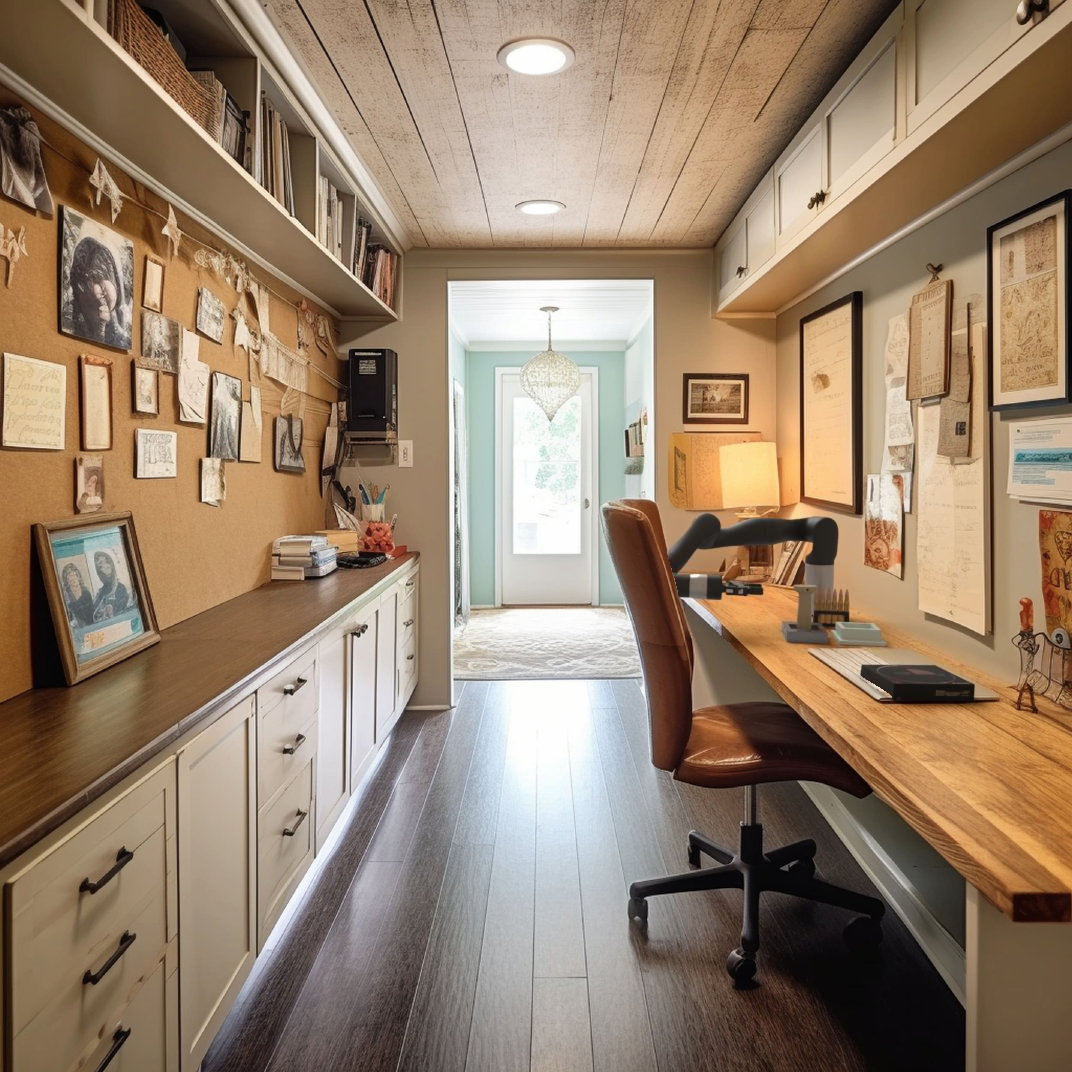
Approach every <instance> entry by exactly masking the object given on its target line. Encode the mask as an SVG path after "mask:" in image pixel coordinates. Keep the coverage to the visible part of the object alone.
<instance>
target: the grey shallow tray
mask: <svg viewBox="0 0 1072 1072" xmlns="http://www.w3.org/2000/svg"><path fill="white" fill-rule="evenodd" d="M830 634H831V636H832V637H833V638H834V639H835V640H836V642H837V643H838V645H843V646H864V647H865V646H866V647H867V646H869V647H883V648H885V647H886V648H887V642H886V641H885V640H883V638H882V629H881V628H880V627H878V625H876V624H875V623H874V622H853V621H852V622H850V621H849V622H836V625H835V629H830Z"/></svg>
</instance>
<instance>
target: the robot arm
mask: <svg viewBox="0 0 1072 1072" xmlns="http://www.w3.org/2000/svg"><path fill="white" fill-rule="evenodd" d="M839 533H840V532H839V525H838V523H837V522H836V520H834V519H833V518H831V517H829V516H819V515H818V516H815V515H814V516H808V517H801V518H794V519H793V518H792V519H787V518H779V517H752V518H748V519H745V520H742V521H740V522H737V523H735V524H733V525H731V526H727V527H723V528H722V523H721V521H720V519H719V518H718V517H717V516H716V515H714V514H713V513H709V512H703V513H700V514H698V515H696V516H695V518H693V521H692V522H691V524H690V526H689V527H688V529H687V530H686V531H685V532H684V533H683V535H682V536H681V537H680V538H679V540H677V541H676V543H674V544H673V546H671V547H670V548H669V549H668V550H667V551H666V552H667V555H668V558H669V562H670V566H671V568H672V573H673V575H674V578H675V582H676V586H677V590H678V596H679V597H678V598H686V599H695V600H706V601H708V600H710V601H721V600H722V598H723V593H725V596H736V597H737V596H738V597H748V596H763V595H764V587H763V585H762V584H761V583H753V582H752V583H751V582H748V581H742V580H741V581H740V580H726V581H725V582H723V575H722V574H713V573H711V574H710V573H693V574H691V573H690V574H689V573H688V574H687V573H679V572H680V571H682V569H683V568H684V567H685V566H686V565H687V564H688V562H689V561H690V559H691V558H692V557H693V556H694V553H695V552H696V551H697V550H714V549H721V548H728V547H744V546H772V545H777V544H781V543H786V542H792V541H793V542H804V543H805V542H806V543H811V544H812V547H811V550H810V552H809V553H808V554H806V555H805V559H804V563H805V564H804V585H815V586H817V589H818V593H819V610H820V598H821V591H822V589H824V592H825V610H826V600H827V592H828V589H830V592H831V610H832V600H833V592H834V589H835V588H834V585H835V584H834V583H835V582H834V581H835V560H836V558H837V554H838V548H839V546H838V545H839V537H840V536H839ZM814 597H815V592H813V593H812V594H811V613H812V615H813V609H814Z"/></svg>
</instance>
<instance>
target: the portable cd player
mask: <svg viewBox="0 0 1072 1072" xmlns="http://www.w3.org/2000/svg"><path fill="white" fill-rule="evenodd" d="M860 667H861V668H860V672H859V674H860V675H861V676H862V677H863V678H865V679H866V680H868V681H870V682H871V683H873V684H875V685H876V686H878V687H880V688H881V689H883V690H884V691H886V692H887V693H889V694H890V695H891V696H892V698H893V700H892V701H894V702H895V701H896V702H897V700H898V701H902V702H903V701H904V702H905V701H906V702H907V701H908V702H918V701H919V702H975V691H976V690H975V686H976V684H975V683H973V682H971V681H969V680H966V679H964V678H963V677H961V676H958V675H956V674H954V673H952V672H950V671H948V670H946V669H944V668H942V667H940V666H938V665H936V664H864V663H863V664H862V663H861V666H860ZM860 675H859V676H860Z"/></svg>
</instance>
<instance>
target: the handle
mask: <svg viewBox="0 0 1072 1072" xmlns="http://www.w3.org/2000/svg"><path fill="white" fill-rule="evenodd" d="M793 591H795V592H796V593H798V602H797V603H798V604H797V615H796V622H797V629H805V630H811V622H813V616H812V613H811V594H812V593H813V592H815V591H817V586H815V585H805V584H793Z"/></svg>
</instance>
